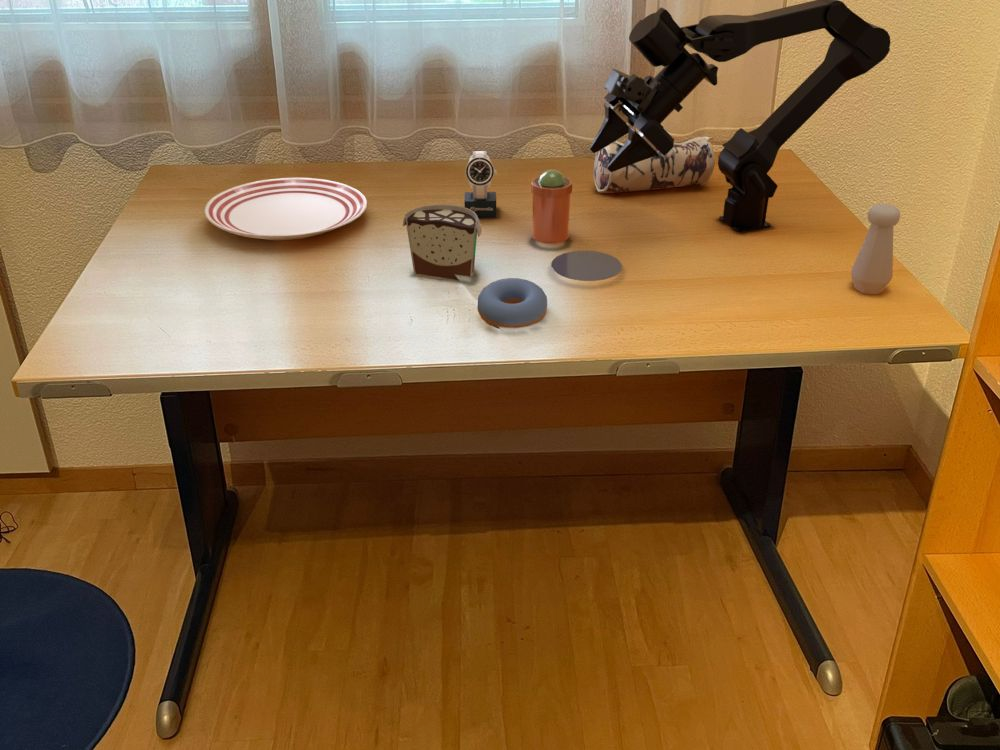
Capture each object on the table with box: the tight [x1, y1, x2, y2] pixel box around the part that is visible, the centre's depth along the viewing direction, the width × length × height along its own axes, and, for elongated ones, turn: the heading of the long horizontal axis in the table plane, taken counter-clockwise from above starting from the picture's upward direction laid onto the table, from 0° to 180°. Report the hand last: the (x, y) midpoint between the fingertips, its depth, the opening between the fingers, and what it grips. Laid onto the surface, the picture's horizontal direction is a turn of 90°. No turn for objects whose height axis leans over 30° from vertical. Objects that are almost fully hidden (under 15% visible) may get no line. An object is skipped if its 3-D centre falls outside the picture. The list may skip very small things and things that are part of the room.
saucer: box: [550, 250, 623, 282], centre depth 153 cm, size 11×11×1 cm
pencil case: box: [593, 136, 716, 194], centre depth 181 cm, size 22×8×10 cm, turn 101°
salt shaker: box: [850, 203, 901, 295], centre depth 144 cm, size 6×6×13 cm
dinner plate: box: [204, 177, 368, 241], centre depth 170 cm, size 27×27×3 cm
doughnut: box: [476, 277, 548, 330], centre depth 139 cm, size 10×10×5 cm
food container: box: [402, 203, 482, 283], centre depth 151 cm, size 12×6×10 cm, turn 71°
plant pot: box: [530, 169, 573, 244], centre depth 159 cm, size 7×7×12 cm
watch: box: [464, 150, 498, 219], centre depth 170 cm, size 6×8×11 cm
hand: (600, 160), depth 157 cm, fingers open, 9 cm apart
